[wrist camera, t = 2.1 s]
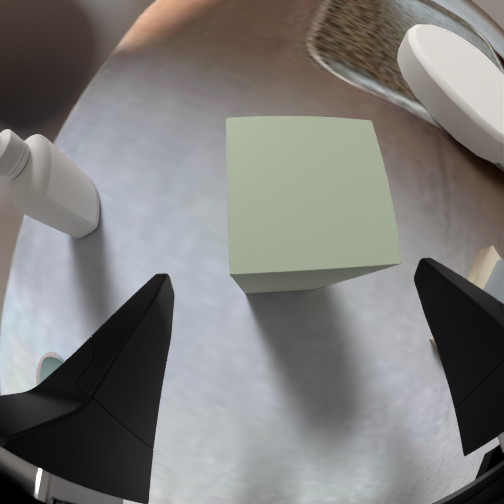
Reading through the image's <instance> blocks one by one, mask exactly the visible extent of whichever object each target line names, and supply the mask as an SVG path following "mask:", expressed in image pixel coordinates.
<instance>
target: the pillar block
mask: <svg viewBox="0 0 504 504" xmlns="http://www.w3.org/2000/svg"><path fill="white" fill-rule="evenodd" d="M226 157H227V207H228V241H229V268H230V275H231V277H232V278H233V279H234V280H235V282H236V283H237V284H238V285H239V287H240V288H241V289H242V290H243V292H244V293H245V294H248V293H267V292H284V291H299V290H313V289H316V288H320V287H324V286H327V285H331V284H335V283H338V282H342V281H345V280H349V279H352V278H356V277H359V276H362V275H366V274H369V273H372V272H376V271H379V270H382V269H385V268H389V267H392V266H395V265H398V264H401V263H402V260H401V252H400V245H399V238H398V231H397V225H396V219H395V214H394V208H393V203H392V198H391V193H390V189H389V184H388V180H387V175H386V171H385V167H384V163H383V159H382V156H381V152H380V148H379V145H378V141H377V138H376V134H375V131H374V128H373V125H372V121H369V120H359V119H347V118H333V117H311V116H260V117H237V118H226Z"/></svg>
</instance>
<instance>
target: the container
mask: <svg viewBox="0 0 504 504" xmlns="http://www.w3.org/2000/svg"><path fill="white" fill-rule="evenodd" d="M397 61H398V64H399V67H400V70H401V73H402V75H403V77H404V79H405V80H406V82H407V84H408V85H409V87H410V88H411V90H412V91H413V93H414V95H415V96H416V98H417V99H418V100H419V101H420V102H421V103H422V104H423V106H424V107H425V108H426V109H427V110H428V112H429V113H430V114H431V115H432V116H433V118H434V119H435V120H436V121H437V122H438V123H439V124H440V125H441V126H442V127H444V128H445V129H446V130H447V131H448V132H449V133H450V134H451V135H452V136H453V137H454V138H455V139H456V140H457V141H458V142H460V143H461V144H462V145H464V146H465V147H466V148H468V149H469V150H470V151H472V152H473V153H474V154H476V155H477V156H479V157H481V158H483V159H486V160H488V161H490V162H492V163H504V75H503V74H502V73H501V71H500V70H499V69H498V68H497V67H496V66H495V65H494V63H493V62H491V61H490V60H489V59H488V58H487V57H486V56H485V55H484V54H483V53H482V52H481V51H480V50H478V49H477V48H476V47H474V46H473V45H472V44H470V43H469V42H467V41H466V40H465V39H463V38H461V37H460V36H458V35H456V34H454V33H452V32H450V31H448V30H446V29H443V28H440V27H437V26H434V25H415V26H414V27H412V28H410V29H409V30H408V31H407V33H406V35H405V37H404V39H403V41H402V43H401V45H400V47H399V50H398V57H397Z"/></svg>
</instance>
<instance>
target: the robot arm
mask: <svg viewBox="0 0 504 504" xmlns="http://www.w3.org/2000/svg"><path fill="white" fill-rule="evenodd" d="M414 282H415V285H416V288H417V291H418V294H419V298H420V301H421V304H422V308H423V311H424V314H425V317H426V320H427V322H428V325H429V327H430V330H431V333H432V336H433V338H434V341H435V344H436V347H437V350H438V353H439V356H440V359H441V362H442V365H443V368H444V371H445V375H446V378H447V382H448V385H449V389H450V392H451V396H452V400H453V404H454V408H455V413H456V417H457V422H458V427H459V432H460V437H461V442H462V448H463V454H464V456H466V455H468V454H470V453H472V452H473V451H475V450H477V449H478V448H480V447H482V446H483V445H485V444H486V443H488V442H490V441H491V440H493V439H494V438H496V437H498V440H499V443H500V444H499V445H498V446H496V447H495V448H493V449H492V450H490V451H489V452H487V453H486V454H485V455H484V458H483V460H482V463H481V466H480V468H479V471H478V473H477V476H476V478H475V480H474V481H473V482H471V483H469V484H468V485H466V486H464V487H463V488H461V489H459V490H457V491H456V492H454V493H452V494H450V495H448V496H446V497H444V498H443V499H441V500H439V501H437V502H435V503H432V504H504V304H503V303H502V302H500V301H498V300H497V299H496V298H494V297H493V296H491V295H490V294H488V293H487V292H485V291H484V290H482V289H481V288H479V287H478V286H476V285H475V284H473V283H471V282H470V281H468V280H467V279H465V278H463V277H462V276H460V275H459V274H457V273H455V272H454V271H452V270H450V269H449V268H447V267H445V266H444V265H442V264H440V263H439V262H437V261H435V260H433V259H432V258H422V259H421V260H420V261H419V264H418V267H417V270H416V272H415V275H414ZM173 308H174V291H173V287H172V284H171V280H170V277H169V275H168V274H166V273H164V274H156V275H154V276H153V277H152V278H151V279H150V280H149V281H148V282H147V283H146V284H145V285H144V286H143V287H142V288H140V289H139V290H138V291H137V292H136V293H135V294H134V295H133V296H132V297H131V298H130V299H129V300H128V301H127V302H126V303H125V304H124V305H123V306H121V307H120V308H119V309H118V310H117V311H116V312H115V313H114V314H113V315H112V316H111V317H110V318H109V319H108V320H107V321H106V322H105V323H104V324H103V325H102V326H101V327H100V328H99V329H98V330H97V331H96V332H95V333H94V334H93V335H92V337H90V338H89V339H88V340H87V341H86V342H85V343H84V344H83V345H82V346H81V347H80V348H79V349H78V350H77V351H76V352H75V353H74V354H73V355H72V356H70V357H69V358H68V359H67V360H66V361H65V362H64V363H63V364H62V365H60V366H59V367H58V368H57V369H56V370H55V371H53V372H52V373H51V374H50V375H49V376H48V377H47V378H46V379H44V380H43V381H42V382H41V383H40V384H39V385H37V386H36V387H35V388H33V389H31V390H29V391H26V392H23V393H17V394H9V395H2V396H0V504H123V499H125V500H129V501H134V502H138V503H143V504H148V502H149V490H150V479H151V468H152V459H153V448H154V440H155V433H156V425H157V418H158V411H159V404H160V398H161V391H162V385H163V379H164V373H165V368H166V362H167V357H168V351H169V346H170V340H171V332H172V320H173Z"/></svg>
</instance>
